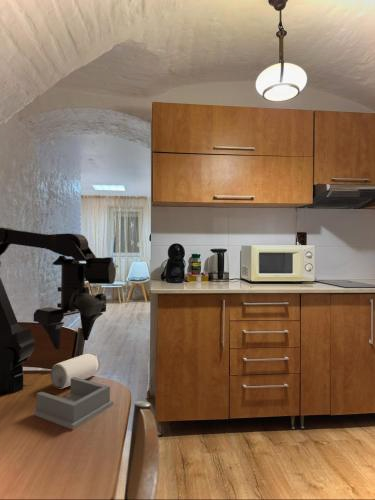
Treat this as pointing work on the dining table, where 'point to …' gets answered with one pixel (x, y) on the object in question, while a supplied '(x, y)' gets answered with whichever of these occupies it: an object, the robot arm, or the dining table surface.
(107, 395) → the u rest
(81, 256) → the robot arm
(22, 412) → the dining table surface
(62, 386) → the can
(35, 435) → the dining table surface
